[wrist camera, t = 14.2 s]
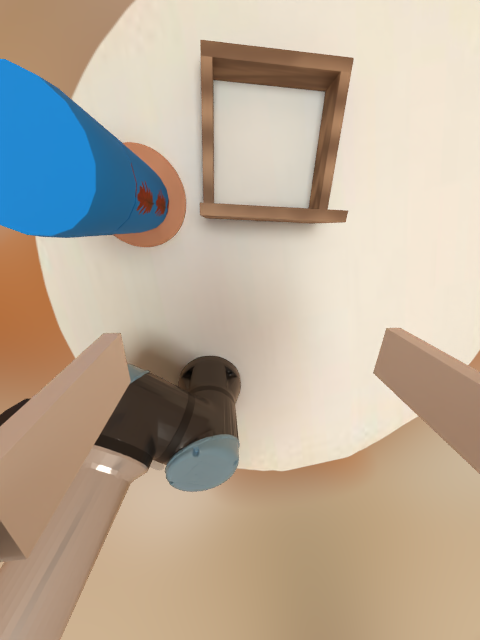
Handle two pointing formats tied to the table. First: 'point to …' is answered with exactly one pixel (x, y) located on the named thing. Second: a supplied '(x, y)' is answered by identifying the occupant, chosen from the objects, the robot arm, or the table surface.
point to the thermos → (68, 167)
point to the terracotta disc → (174, 194)
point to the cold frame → (281, 72)
